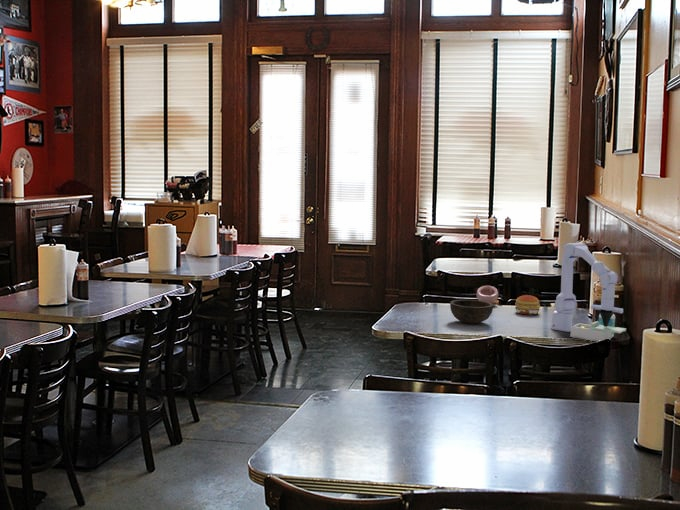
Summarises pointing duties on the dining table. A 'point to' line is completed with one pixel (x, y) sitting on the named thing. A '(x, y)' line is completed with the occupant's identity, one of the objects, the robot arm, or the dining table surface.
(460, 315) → the bowl
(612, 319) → the pill bottle
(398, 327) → the dining table surface
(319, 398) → the dining table surface
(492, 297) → the pink round pot
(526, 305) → the burger
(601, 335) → the housing
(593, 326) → the lid
